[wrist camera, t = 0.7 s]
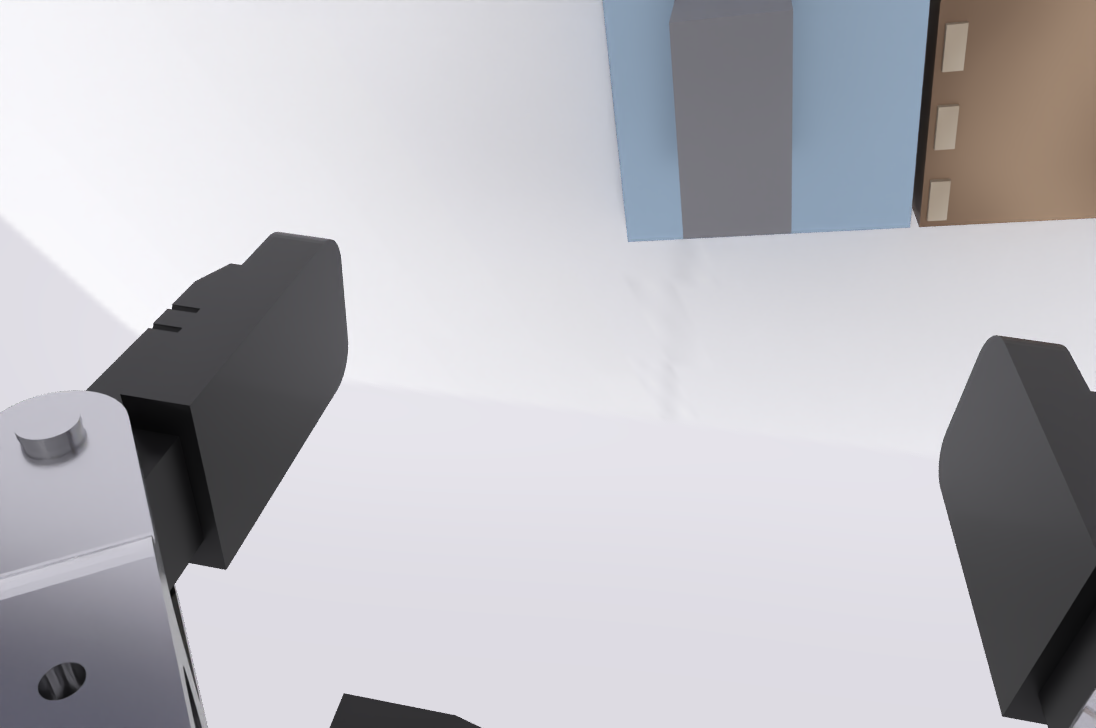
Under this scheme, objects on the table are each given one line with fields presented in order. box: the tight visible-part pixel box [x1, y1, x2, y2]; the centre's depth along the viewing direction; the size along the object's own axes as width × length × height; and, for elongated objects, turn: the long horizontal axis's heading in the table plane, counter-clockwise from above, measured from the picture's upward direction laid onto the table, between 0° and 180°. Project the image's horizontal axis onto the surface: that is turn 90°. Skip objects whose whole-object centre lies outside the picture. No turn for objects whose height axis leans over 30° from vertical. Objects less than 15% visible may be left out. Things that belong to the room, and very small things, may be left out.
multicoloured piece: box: [603, 0, 930, 242], centre depth 26 cm, size 10×12×8 cm
